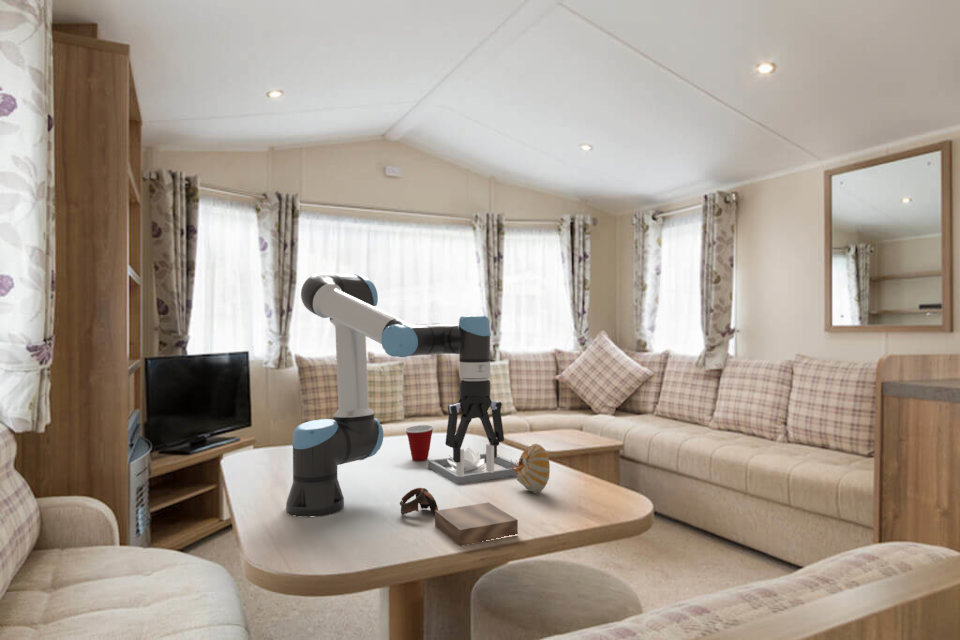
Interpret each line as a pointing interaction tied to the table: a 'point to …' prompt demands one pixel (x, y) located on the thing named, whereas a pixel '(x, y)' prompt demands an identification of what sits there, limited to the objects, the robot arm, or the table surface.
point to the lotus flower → (469, 462)
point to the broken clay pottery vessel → (418, 501)
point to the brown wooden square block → (475, 523)
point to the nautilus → (533, 468)
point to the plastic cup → (419, 441)
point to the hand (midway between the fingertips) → (475, 473)
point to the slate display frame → (439, 463)
